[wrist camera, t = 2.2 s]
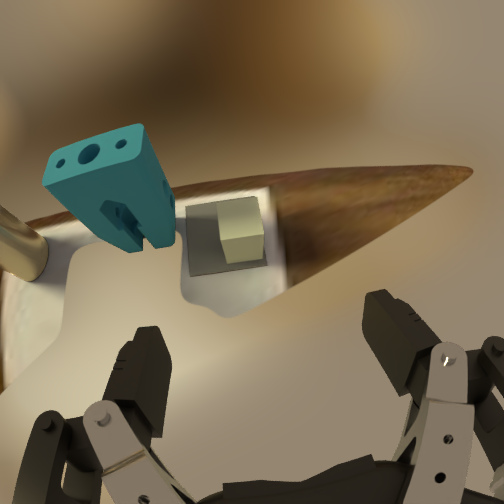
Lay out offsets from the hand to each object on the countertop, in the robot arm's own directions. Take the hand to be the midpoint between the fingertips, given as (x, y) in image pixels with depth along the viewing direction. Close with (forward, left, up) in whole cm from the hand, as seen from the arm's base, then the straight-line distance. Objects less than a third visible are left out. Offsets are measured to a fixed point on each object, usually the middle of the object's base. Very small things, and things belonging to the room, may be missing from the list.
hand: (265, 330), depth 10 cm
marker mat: (-2, +17, -27) cm, 32 cm away
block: (-14, +19, -27) cm, 36 cm away
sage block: (0, +15, -27) cm, 31 cm away
